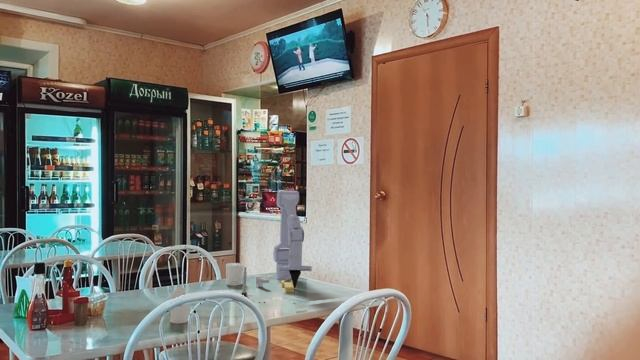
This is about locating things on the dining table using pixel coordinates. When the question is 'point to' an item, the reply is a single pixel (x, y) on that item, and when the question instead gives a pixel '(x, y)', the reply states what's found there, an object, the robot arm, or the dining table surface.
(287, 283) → the link
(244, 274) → the tow hook
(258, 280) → the keeper
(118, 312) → the dining table surface
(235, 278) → the white cup
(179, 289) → the roll
